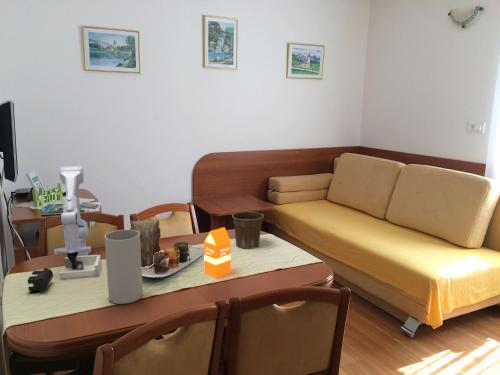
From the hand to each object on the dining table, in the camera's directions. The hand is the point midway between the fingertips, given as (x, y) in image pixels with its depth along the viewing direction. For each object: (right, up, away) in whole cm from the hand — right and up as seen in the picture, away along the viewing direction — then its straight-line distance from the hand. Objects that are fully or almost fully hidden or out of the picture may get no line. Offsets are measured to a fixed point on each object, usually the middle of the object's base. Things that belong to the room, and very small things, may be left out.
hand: (74, 268), depth 180 cm
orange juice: (+62, -3, +3) cm, 62 cm away
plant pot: (+75, +5, +38) cm, 84 cm away
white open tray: (+2, -2, +2) cm, 4 cm away
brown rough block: (+28, 0, +12) cm, 30 cm away
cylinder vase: (+29, -7, -20) cm, 36 cm away
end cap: (-7, -6, -14) cm, 16 cm away
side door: (-1, -1, +2) cm, 3 cm away
